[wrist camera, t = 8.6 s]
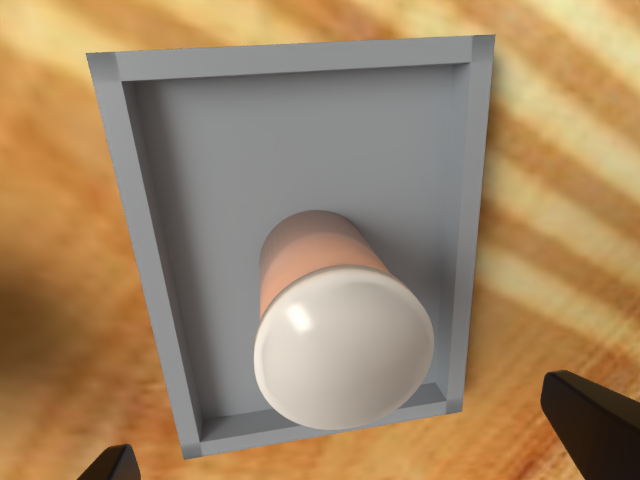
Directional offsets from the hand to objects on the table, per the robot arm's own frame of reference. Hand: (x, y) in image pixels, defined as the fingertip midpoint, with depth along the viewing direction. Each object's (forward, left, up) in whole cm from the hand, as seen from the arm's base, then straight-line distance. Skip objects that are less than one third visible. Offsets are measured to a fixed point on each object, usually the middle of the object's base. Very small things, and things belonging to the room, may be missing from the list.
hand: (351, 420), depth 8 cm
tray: (-1, +2, -13) cm, 13 cm away
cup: (-1, +2, -12) cm, 12 cm away
